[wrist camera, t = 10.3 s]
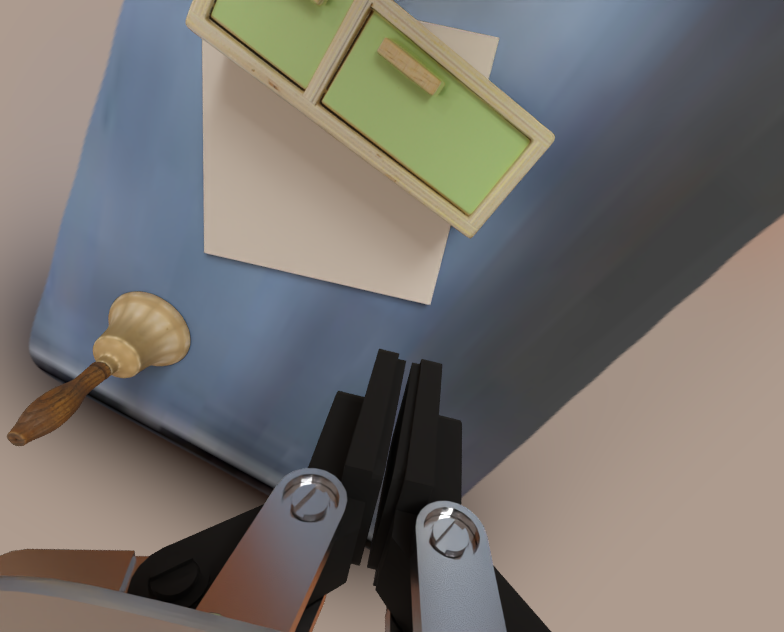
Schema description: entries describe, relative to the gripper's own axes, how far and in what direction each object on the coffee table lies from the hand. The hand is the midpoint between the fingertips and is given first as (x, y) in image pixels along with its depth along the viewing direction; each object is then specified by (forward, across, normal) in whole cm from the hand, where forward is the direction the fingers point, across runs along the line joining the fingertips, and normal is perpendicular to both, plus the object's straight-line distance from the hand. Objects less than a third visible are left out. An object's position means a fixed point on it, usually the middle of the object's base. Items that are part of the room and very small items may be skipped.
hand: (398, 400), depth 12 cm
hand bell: (+27, +24, +21) cm, 42 cm away
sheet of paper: (+27, +8, +1) cm, 28 cm away
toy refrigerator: (+23, -4, -1) cm, 23 cm away
